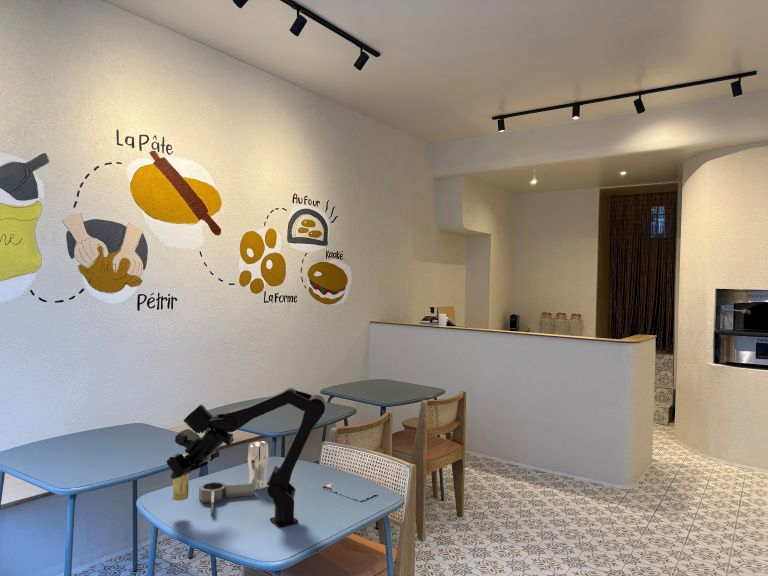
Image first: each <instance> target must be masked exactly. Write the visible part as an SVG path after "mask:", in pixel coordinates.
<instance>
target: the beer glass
mask: <svg viewBox="0 0 768 576" xmlns="http://www.w3.org/2000/svg"><path fill="white" fill-rule="evenodd" d="M268 461H269V443H268V442H266V441H257V440H256V441H253V442H250V443H249V444H248V452H247V464H248V472H249V473H248V474H249V481H248V483H255V491H257V490H263V489H265V488H266V487H267V482H266V473H267V472H266V471H267V466H268Z"/></svg>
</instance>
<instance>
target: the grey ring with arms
mask: <svg viewBox="0 0 768 576" xmlns="http://www.w3.org/2000/svg"><path fill="white" fill-rule="evenodd" d="M198 489H199V490H198V500H199V499H200V500H201V501H200V500H199V501H200V502H201V503H202V502H205V503H204V504H210V516H214V511H215V510H214V508H215V504H216V503H215V502H217V503H221V502H223V501H224V500H225V499H229V498H228V497H230V498H239V497H240V498H241V497H252V496H256V490H255V483H249V482H248V483H247V482H246V483H235V484H233V483H232V484H225V482H221V481H212V482H211V481H210V482H205V483H202V485H200V486H199V487H198ZM220 501H221V502H220Z"/></svg>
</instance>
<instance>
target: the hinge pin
mask: <svg viewBox="0 0 768 576" xmlns="http://www.w3.org/2000/svg"><path fill="white" fill-rule="evenodd" d="M181 454H182V453H181ZM182 455H183V456H184V458H185V456H186V455H187V453H186V454H182ZM185 459H186V458H185ZM189 476H190V473H189V474H186V475H184V476H182V477H180V478H175V479H172V480H173V481H172V500H174V501H178V502H179V501H185V500H187V499H189V487H190V486H189V482H190V480H189V479H190V477H189Z"/></svg>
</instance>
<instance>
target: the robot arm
mask: <svg viewBox="0 0 768 576" xmlns="http://www.w3.org/2000/svg"><path fill="white" fill-rule="evenodd" d="M286 405H290V406H293V407H295V408H297V409H299V410H301V411H302V412H303V417H302V421H301V423H300V425H299V427H298V429H297V432H296V434H295V436H294V438H293V440H292V442H291V444H290V447H289V448H288V451H287V453H286V455H285V458H284V459H283V461H282V462H281V465H280V466H279V467H278V466H277V465H274V468H273V470H272V473H271V475H270V476H269V477H268V480H267V482H266V486H267V492H266V493H267V495H268V496H269V497H270V498H271V499H272V501H273V503H274V516H273V517H270V518H269V520H270V522H272V523H273V524H274V525H275V526H277V527H278V528H282V527H287V526H291V525H293V524H297V523H299V520H298V519H297V518H295V515H294V514H295V496H296V495H295V494H296V490H297V489H296V488H295V487H294V485H292V484H291V483H290V481H291V478H292V473H293V471H294V469H295V466H296V464H297V462H298V460H299V458H300V455H301V454H302V451H303V449H304V447H305V445H306V443H307V441H308V439H309V436H310V434H311V432H312V430H313V428H314V427H315V426H316V425H317V423H318V422H319V421H320V420H321V418H323V415H324V413H325V411H326V405H327V403H326V400H325V398H324V396H321V395H320V394H314V395H313V394H309V393H307V392H304V391H299V390H297V389H294V388H292V387H290V388H289V387H288V388H286V389H285V390H284V391H281V392H278V393H276V394H274V395H272V396H271V395H270V396H269V397H266V398H265V399H262V400H259V401H257V402H255V403H252V404H250V405H245V406H239V407H238V406H237V407H235V408H230V409H228V410H227V411H226V412H222V413H217V414H215V415H213V414H212V413H211V412H210V411H209V410H208V409H206V406H204V405H203V404H199V405H198V406H197V407H196V408H195V409H194V410H192V411H191V412H190V413H188V415H187V416H186V417H185V418H184V419H183V422H184V423H185V424H186V425H187V426H188V427H189V428H187V429H183V430H181V431H180V432H178V433H177V435H175V437H174V438H175V440H174V442H175V444H178V445H179V447H181V446H182V447H184V448H185V449H184V452H185V453H186V456H185V458H186V459H185V458H184V456H183V455H182V453H176V454H174V455H171V456H170V457H168V459H167V460H166V464H167V466H168V467H169V468H170V470H171V471H172V473H171V476H170V478H171V479H172V480H173V479H175V478H180V477H182V476H184V475H186V474H189V475H190V474H191V473H192V471H196V470H197V469H200V468H202V467H203V468H204V466H206V465H208V464H209V462H210V463H212V462H214V461H216V460H217V459H218V458H219V457H220V451H219V450H218V449H219V448H220V446H222V445H223V444H225V445H226V446H228V447H230V446H231V444H232V443H233V442H234V434H233V433H234V432H235V431H237V430H239V429H240V428H242V427H243V426H245V425H246V424H248V423H249V422H250V421H252V420H253V419H256V418H257V417H260V416H263V415H265V414H268V413H269V412H272V411H275V410H277V409H279V408H281V407H284V406H286ZM207 429H208V430H207ZM206 431H207V432H206ZM204 432H205V433H204ZM200 433H201V434H203V433H204V434H203V436H200V435H199V434H200ZM209 457H210V458H209ZM208 461H209V462H208Z"/></svg>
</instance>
